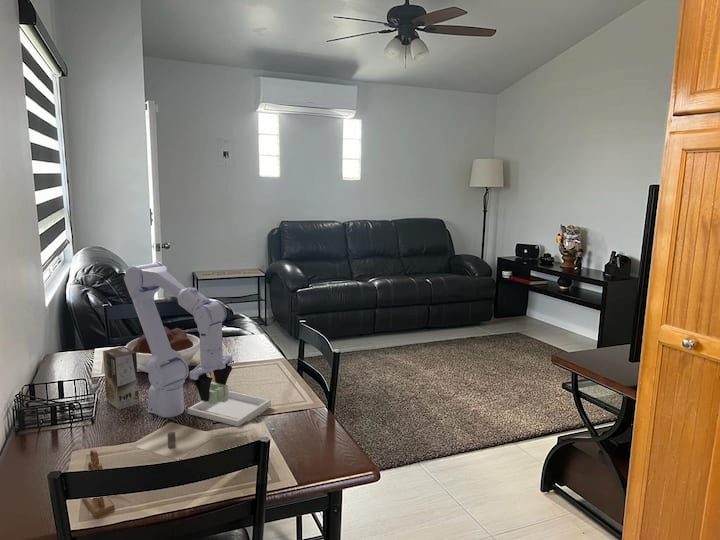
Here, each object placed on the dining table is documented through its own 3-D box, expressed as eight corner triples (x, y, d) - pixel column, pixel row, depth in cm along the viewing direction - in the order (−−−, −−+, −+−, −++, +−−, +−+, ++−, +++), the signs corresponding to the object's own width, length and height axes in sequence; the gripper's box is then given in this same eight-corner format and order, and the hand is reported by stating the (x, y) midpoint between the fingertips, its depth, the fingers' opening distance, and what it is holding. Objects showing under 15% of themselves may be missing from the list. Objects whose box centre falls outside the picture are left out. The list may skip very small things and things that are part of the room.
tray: (187, 416, 149) (187, 408, 148) (223, 396, 163) (223, 389, 162) (238, 429, 142) (237, 421, 141) (270, 407, 156) (270, 399, 155)
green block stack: (197, 400, 139) (197, 388, 139) (211, 392, 144) (211, 381, 144) (219, 405, 136) (218, 393, 136) (232, 397, 141) (232, 386, 141)
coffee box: (140, 403, 157) (137, 352, 154) (118, 410, 152) (115, 357, 149) (127, 395, 163) (124, 345, 160) (105, 401, 158) (102, 350, 155)
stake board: (129, 448, 131) (128, 431, 130) (171, 425, 143) (170, 409, 142) (178, 464, 124) (178, 446, 123) (217, 438, 137) (217, 421, 136)
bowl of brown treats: (216, 365, 190) (215, 325, 187) (157, 387, 169) (154, 343, 166) (171, 352, 203) (169, 315, 200) (111, 371, 182) (108, 330, 179)
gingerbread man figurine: (81, 497, 111) (77, 445, 109) (100, 490, 113) (97, 439, 111) (94, 517, 104) (90, 462, 102) (115, 509, 107) (111, 455, 105)
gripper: (204, 358, 130) (205, 409, 132) (240, 342, 143) (241, 389, 145) (182, 353, 133) (184, 403, 135) (220, 338, 146) (221, 384, 148)
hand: (212, 396), depth 140 cm, fingers closed on green block stack, 6 cm apart
